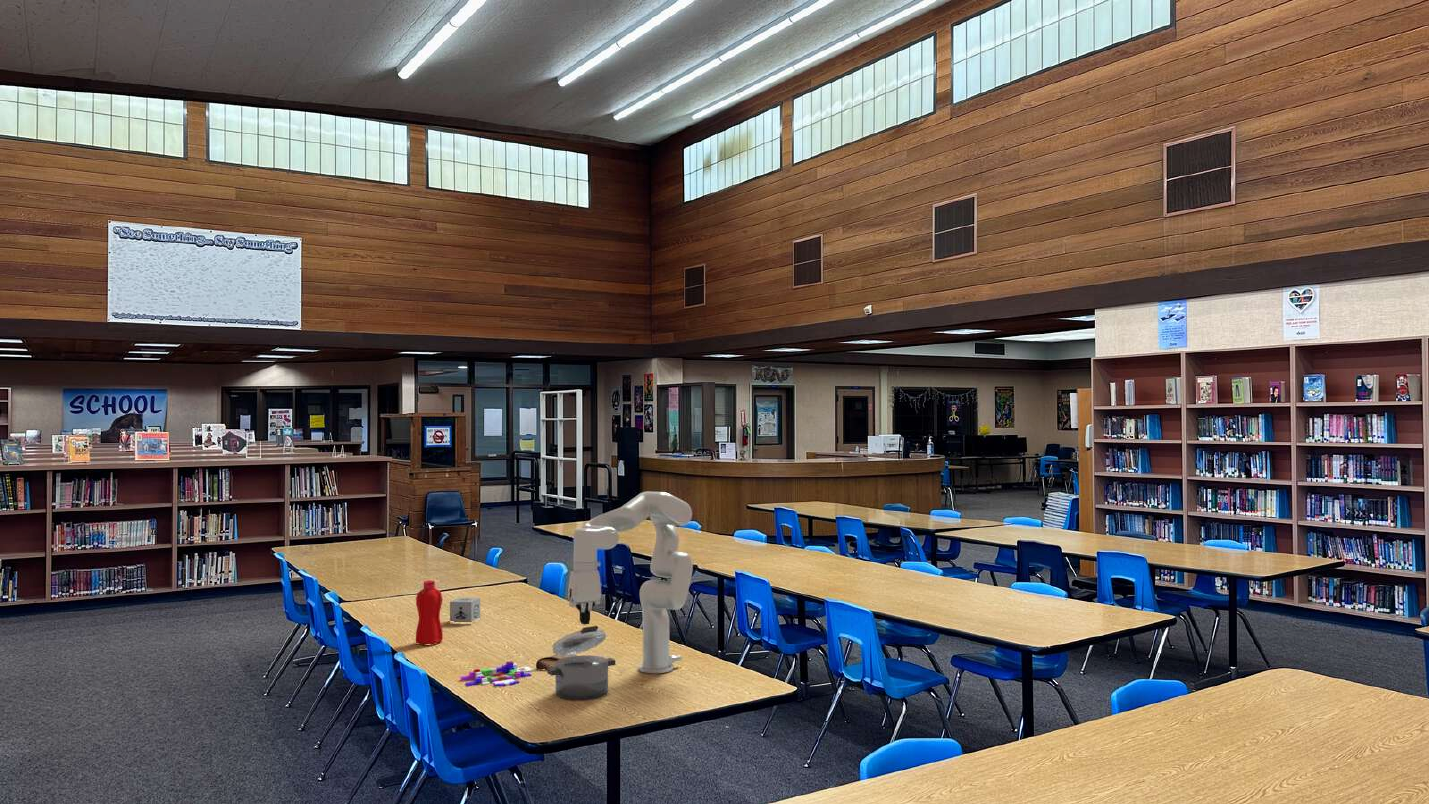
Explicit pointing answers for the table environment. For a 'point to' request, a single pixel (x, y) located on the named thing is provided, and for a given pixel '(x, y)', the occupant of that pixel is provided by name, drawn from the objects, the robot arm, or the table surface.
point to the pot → (581, 677)
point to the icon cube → (464, 609)
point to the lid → (579, 641)
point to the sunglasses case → (549, 661)
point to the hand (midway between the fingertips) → (584, 623)
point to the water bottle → (429, 614)
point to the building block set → (488, 674)
